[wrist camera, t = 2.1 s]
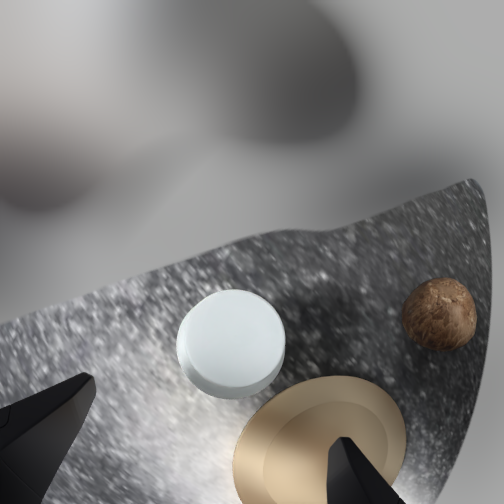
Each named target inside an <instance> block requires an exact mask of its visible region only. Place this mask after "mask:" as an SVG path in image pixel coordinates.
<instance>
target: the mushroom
mask: <svg viewBox="0 0 504 504" xmlns="http://www.w3.org/2000/svg"><path fill="white" fill-rule="evenodd" d="M476 322H477V316H476V309H475V304H474V300H473V298H472V296H471V295H470V293H469V292H468V290H467V289H466V287H465V286H463V285H462V284H460V283H459V282H458V281H456V280H454V279H450V278H434V279H431V280H429V281H426V282H423V283H422V284H421V285H420V286H418V287H417V288H416V289H415V290H414V291H413V292H412V293H411V295H410V296H409V297H408V298H407V300H406V301H405V302H404V304H403V307H402V324H403V326H404V328H405V330H406V332H407V334H408V336H409V338H411V339H412V340H414V341H415V342H416V343H418V344H419V345H421V346H423V347H426V348H429V349H432V350H435V351H452V350H454V349H457V348H460V347H462V346H464V345H466V344H467V343H468V341H469V340H470V339H471V338H472V337H473V335H474V334H475V328H476Z"/></svg>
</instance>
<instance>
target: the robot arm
mask: <svg viewBox="0 0 504 504" xmlns="http://www.w3.org/2000/svg"><path fill="white" fill-rule="evenodd" d="M95 395H96V386H95V380H94V377H93V376H92V375H90V374H88V373H85V372H83V373H80V374H78V375H76V376H74V377H72V378H69V379H67V380H65V381H63V382H61V383H58V384H56V385H54V386H52V387H50V388H47V389H45V390H43V391H41V392H38V393H36V394H34V395H32V396H29V397H27V398H25V399H22V400H20V401H18V402H15V403H13V404H11V405H8V406H6V407H3V408H1V409H0V504H41V502H42V499H43V497H44V495H45V493H46V491H47V489H48V487H49V485H50V484H51V482H52V480H53V478H54V476H55V474H56V472H57V470H58V468H59V467H60V465H61V463H62V461H63V459H64V457H65V456H66V454H67V452H68V450H69V448H70V447H71V445H72V443H73V441H74V440H75V438H76V436H77V434H78V433H79V431H80V429H81V427H82V425H83V423H84V421H85V419H86V416H87V414H88V411H89V409H90V407H91V405H92V402H93V400H94V398H95ZM326 492H327V504H406V503H405V502H404V501H403V500H402V499H401V498H399V495H398V494H397V493H396V492H395V491H394V490H393V488H392V487H391V486H390V485H389V484H388V483H387V481H386V480H385V479H384V478H383V477H382V476H381V474H380V473H379V472H378V471H377V470H376V468H375V467H374V466H373V465H372V464H371V462H370V461H369V460H368V459H367V457H366V456H365V455H364V454H363V453H362V451H361V450H360V449H359V448H358V446H357V445H356V444H355V443H354V441H353V440H352V439H351V438H350V437H339V438H337V440H336V441H335V442H334V443H333V444H332V446H331V447H330V448H329V451H328V465H327V480H326Z"/></svg>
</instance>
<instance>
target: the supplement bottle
mask: <svg viewBox="0 0 504 504" xmlns="http://www.w3.org/2000/svg"><path fill="white" fill-rule="evenodd" d="M176 347H177V356H178V360H179V363H180V366H181V368H182V370H183V372H184V373H185V375H186V376H187V378H188V379H189V380H190V381H191V382H192V383H193V384H194V385H195V386H196V387H197V388H199V389H200V390H201V391H203V392H205V393H206V394H209V395H211V396H214V397H217V398H222V399H242V398H246V397H250V396H252V395H255V394H257V393H258V392H260V391H262V390H263V389H265V388H266V387H267V386H268V385H269V384H270V383H271V382H272V381H273V380H274V379H275V377H276V376H277V374H278V373H279V371H280V369H281V366H282V364H283V360H284V356H285V331H284V326H283V323H282V321H281V318H280V316H279V315H278V313H277V312H276V310H275V309H274V308H273V307H272V306H271V305H270V304H269V303H268V302H267V301H266V300H264V299H263V298H261V297H260V296H258V295H256V294H254V293H251V292H248V291H244V290H234V289H233V290H223V291H219V292H216V293H214V294H212V295H209V296H208V297H206V298H204V299H203V300H202V301H201V302H199V303H198V304H197V305H196V306H195V307H193V308H192V309H191V310H190V311H189V313H188V314H187V315H186V317H185V318H184V320H183V321H182V323H181V326H180V328H179V331H178V335H177V345H176Z"/></svg>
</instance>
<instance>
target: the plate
mask: <svg viewBox="0 0 504 504" xmlns="http://www.w3.org/2000/svg"><path fill="white" fill-rule="evenodd" d="M339 437H350V438H351V439H352V440H353V441H354V443H355V444H356V445H357V446H358V448H359V449H360V450H361V451H362V453H363V454H364V455H365V456H366V457H367V459H368V460H369V461H370V462H371V464H372V465H373V466H374V467H375V468H376V470H377V471H378V472H379V473H380V474H381V476H382V477H383V478H384V479H385V480H386V481H387V483H388V484H389V485H390V486H392V484H393V483H394V481H395V479H396V477H397V475H398V473H399V471H400V468H401V466H402V463H403V459H404V455H405V449H406V429H405V424H404V420H403V417H402V414H401V412H400V410H399V408H398V406H397V405H396V403H395V402H394V400H393V399H392V398H391V397H390V396H389V395H388V394H387V393H386V392H385V391H384V390H383V389H381V388H380V387H378V386H377V385H375V384H373V383H371V382H369V381H367V380H364V379H360V378H357V377H351V376H327V377H319V378H314V379H310V380H306V381H303V382H300V383H297V384H295V385H293V386H291V387H289V388H287V389H285V390H283V391H282V392H280V393H278V394H277V395H275V396H274V397H273V398H271V399H270V400H269V401H267V402H266V403H265V404H264V405H263V406H262V407H261V408H260V409H259V410H258V411H257V412H256V413H255V414H254V415H253V417H252V418H251V419H250V420H249V422H248V423H247V425H246V426H245V428H244V429H243V431H242V433H241V435H240V437H239V440H238V442H237V445H236V448H235V451H234V457H233V478H234V483H235V487H236V490H237V493H238V496H239V498H240V500H241V501H242V503H243V504H327V492H326V480H327V465H328V451H329V448H330V447H331V446H332V444H333V443H334V442H335V441H336V440H337V438H339Z"/></svg>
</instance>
